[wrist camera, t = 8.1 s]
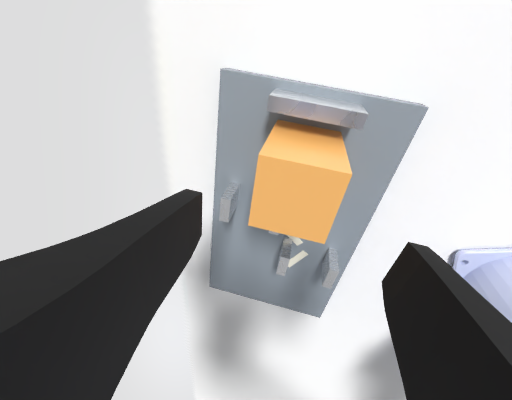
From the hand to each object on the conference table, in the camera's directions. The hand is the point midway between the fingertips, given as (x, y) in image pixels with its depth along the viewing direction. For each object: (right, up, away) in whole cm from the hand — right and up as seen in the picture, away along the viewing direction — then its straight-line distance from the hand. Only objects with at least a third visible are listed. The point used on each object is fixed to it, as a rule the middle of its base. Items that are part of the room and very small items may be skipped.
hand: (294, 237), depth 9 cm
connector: (+2, +4, +8) cm, 9 cm away
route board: (+1, 0, +12) cm, 12 cm away
